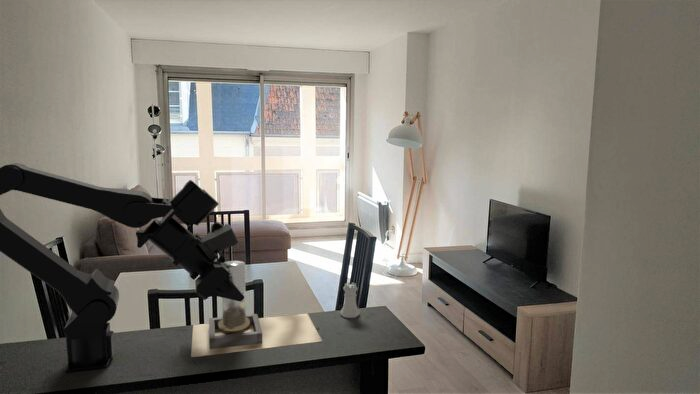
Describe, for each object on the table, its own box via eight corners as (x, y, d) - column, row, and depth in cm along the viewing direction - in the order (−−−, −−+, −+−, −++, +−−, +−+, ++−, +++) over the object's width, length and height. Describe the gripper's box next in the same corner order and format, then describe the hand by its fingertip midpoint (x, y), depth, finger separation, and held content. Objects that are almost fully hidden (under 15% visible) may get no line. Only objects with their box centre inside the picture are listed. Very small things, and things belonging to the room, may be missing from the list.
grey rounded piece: (218, 336, 86) (217, 269, 84) (217, 323, 91) (216, 260, 90) (251, 332, 88) (250, 267, 86) (248, 320, 93) (248, 258, 91)
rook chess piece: (351, 324, 98) (352, 289, 97) (335, 319, 101) (336, 284, 100) (363, 318, 102) (364, 283, 100) (348, 313, 104) (348, 279, 103)
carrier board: (191, 362, 81) (190, 346, 81) (193, 329, 94) (192, 315, 94) (322, 346, 88) (322, 331, 88) (307, 317, 101) (307, 304, 101)
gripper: (215, 221, 76) (280, 279, 82) (207, 204, 93) (261, 252, 99) (166, 271, 75) (236, 326, 80) (167, 244, 92) (224, 291, 97)
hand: (241, 295), depth 89 cm, fingers closed on grey rounded piece, 4 cm apart
